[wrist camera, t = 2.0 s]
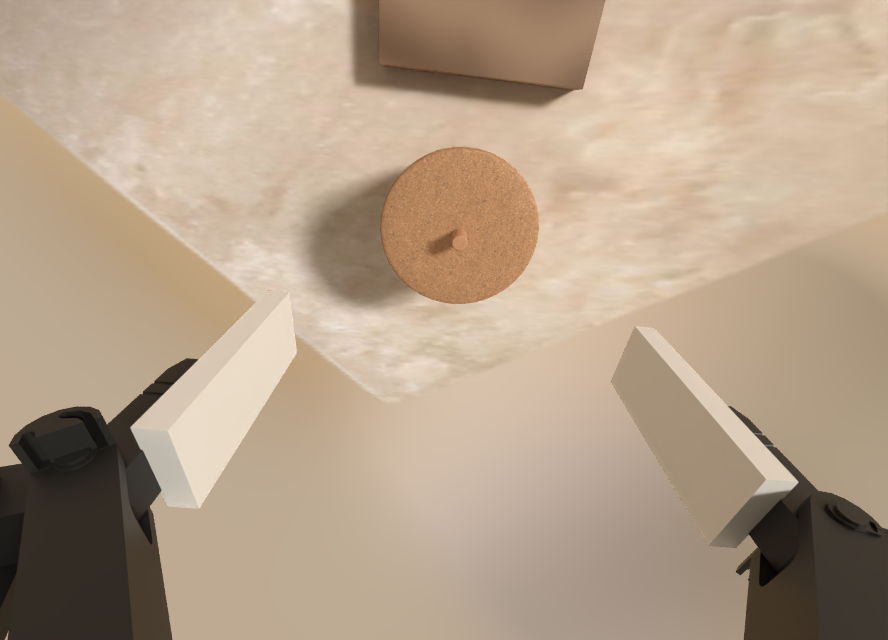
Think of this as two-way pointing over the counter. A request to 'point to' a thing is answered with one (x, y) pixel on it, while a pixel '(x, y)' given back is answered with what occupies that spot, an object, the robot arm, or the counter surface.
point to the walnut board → (492, 38)
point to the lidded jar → (459, 225)
